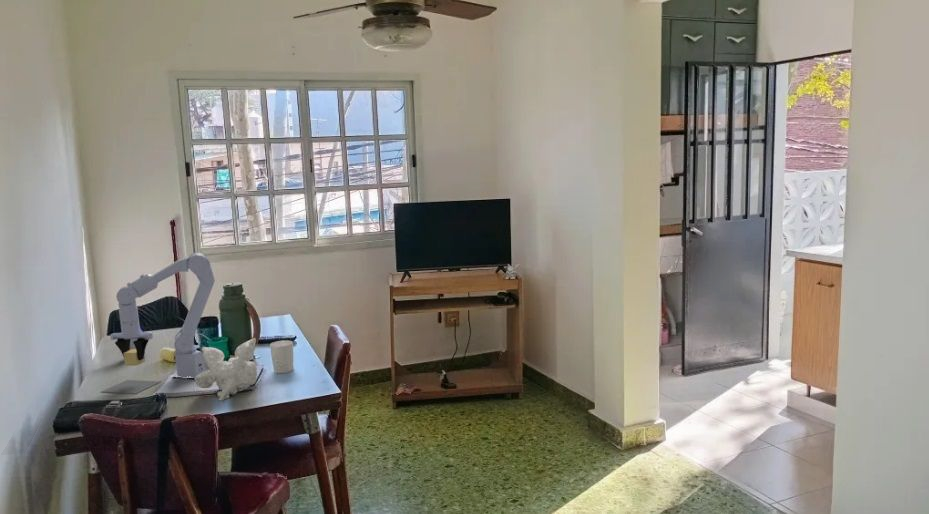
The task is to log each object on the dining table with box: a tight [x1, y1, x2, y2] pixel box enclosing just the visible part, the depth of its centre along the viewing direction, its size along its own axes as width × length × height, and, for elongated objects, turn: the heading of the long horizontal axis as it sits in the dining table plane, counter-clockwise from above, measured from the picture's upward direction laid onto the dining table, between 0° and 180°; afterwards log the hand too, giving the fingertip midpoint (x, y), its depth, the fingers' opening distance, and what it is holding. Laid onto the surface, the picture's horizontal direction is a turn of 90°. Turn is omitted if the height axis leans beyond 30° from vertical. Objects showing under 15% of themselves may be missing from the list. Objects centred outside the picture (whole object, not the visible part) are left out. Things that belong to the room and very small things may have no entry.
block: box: [123, 349, 146, 367], centre depth 228 cm, size 4×4×4 cm
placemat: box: [100, 379, 162, 395], centre depth 225 cm, size 14×12×1 cm
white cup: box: [269, 339, 294, 374], centre depth 235 cm, size 8×8×10 cm
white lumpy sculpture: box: [194, 337, 258, 402], centre depth 216 cm, size 19×20×20 cm
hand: (134, 359), depth 228 cm, fingers closed on block, 4 cm apart
